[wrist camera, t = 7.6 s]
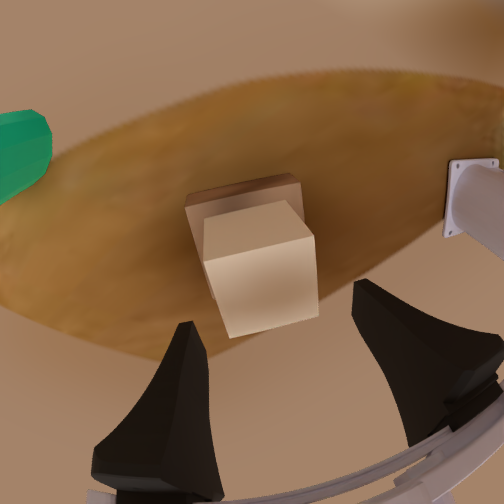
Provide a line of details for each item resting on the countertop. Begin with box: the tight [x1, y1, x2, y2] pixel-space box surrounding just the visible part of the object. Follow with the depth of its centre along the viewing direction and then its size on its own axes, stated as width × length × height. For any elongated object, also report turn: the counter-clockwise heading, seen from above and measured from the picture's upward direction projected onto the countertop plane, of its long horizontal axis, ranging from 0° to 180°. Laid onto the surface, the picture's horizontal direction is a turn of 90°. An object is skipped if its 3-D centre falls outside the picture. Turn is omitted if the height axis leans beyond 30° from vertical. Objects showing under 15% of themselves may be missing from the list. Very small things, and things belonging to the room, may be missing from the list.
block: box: [203, 200, 319, 338], centre depth 15 cm, size 5×5×5 cm
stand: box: [185, 173, 305, 299], centre depth 19 cm, size 7×7×2 cm
